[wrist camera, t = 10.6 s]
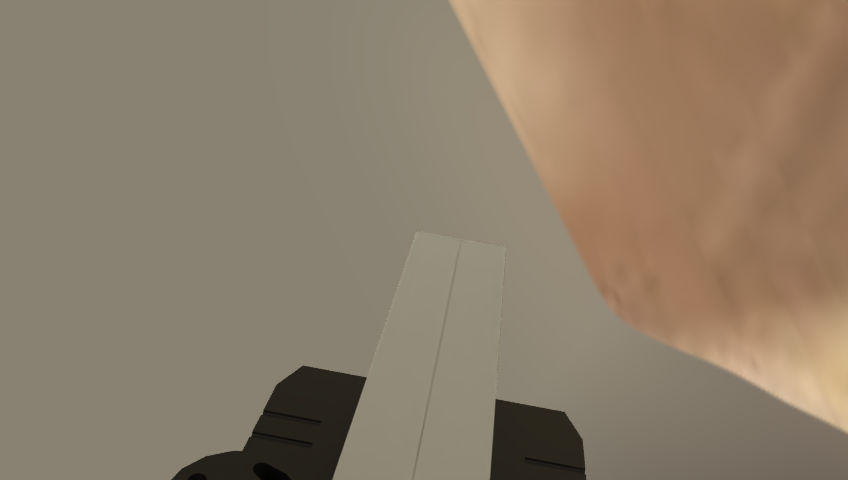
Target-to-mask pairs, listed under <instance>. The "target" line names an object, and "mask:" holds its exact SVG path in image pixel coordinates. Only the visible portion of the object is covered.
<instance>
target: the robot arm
mask: <svg viewBox="0 0 848 480" xmlns="http://www.w3.org/2000/svg"><path fill="white" fill-rule="evenodd" d="M505 257H506V247H505V246H499V245H494V244H487V243H482V242H477V241H471V240H465V239H460V238H454V237H448V236H442V235H437V234H431V233H426V232H420V231H417V232H416V235H415V238H414V241H413V244H412V247H411V250H410V252H409V255H408V258H407V261H406V264H405V267H404V270H403V273H402V276H401V279H400V282H399V285H398V288H397V291H396V294H395V297H394V300H393V302H392V305H391V308H390V312H389V314H388V317H387V320H386V323H385V326H384V329H383V332H382V335H381V338H380V341H379V344H378V347H377V350H376V353H375V356H374V359H373V362H372V364H371V367H370V370H369V373H368V377H367V378H366V377H361V376H355V375H350V374H345V373H340V372H334V371H329V370H324V369H318V368H313V367H307V366H302V367H301V368H299V369H298V370H296V371H295V372H294V373H292V374H291V375H289V376H288V377H287V378H285V379H284V380H282V381H281V382H280V383H278V384H277V385H276V387H275V389H274V391H273V393H272V395H271V397H270V399H269V401H268V402H267V405H266V406H265V408H264V411H263V415H261V416H260V418H259V420H258V422H257V424H256V426H255V428H254V429H253V432H252V436H251V437H249V439H248V441H247V443H246V445H245V447H244V449H243V451H231V452H225V453H220V454H215V455H211V456H206V457H204V458H202V459H200V460H198V461H196V462H194V463H192V464H190V465H188V466H186V467H184V468H182V469H181V470H180V471H179V472H178V473H177V474H176V476H175V477H174V478H173V479H172V480H586V475H585V461H584V450H583V441H582V438H581V437H580V435H579V434H578V432H577V430H576V429H575V427H574V426H573V424H572V423H571V421H570V420H569V418H568V417H567V415H566V414H565V412H561V411H556V410H550V409H546V408H540V407H535V406H529V405H524V404H519V403H514V402H508V401H503V400H497V399H496V385H497V371H498V356H499V342H500V327H501V314H502V313H501V312H502V300H503V284H504V270H505Z"/></svg>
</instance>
